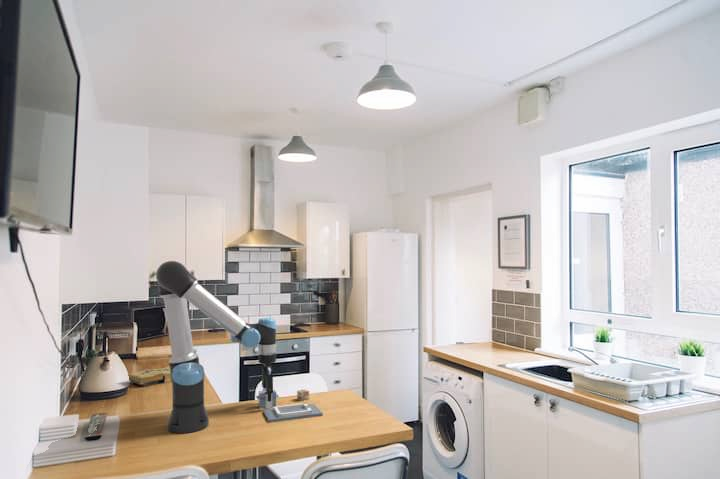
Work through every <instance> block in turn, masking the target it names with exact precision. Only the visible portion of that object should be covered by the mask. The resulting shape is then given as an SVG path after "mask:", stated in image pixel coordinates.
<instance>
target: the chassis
mask: <svg viewBox="0 0 720 479" xmlns="http://www.w3.org/2000/svg"><path fill="white" fill-rule="evenodd" d="M262 413H263V414H264V416H265V418H266V420H267V421H268V423H275V422H281V421H291V420H299V419H306V418H307V419H308V418H313V417H314V418H315V417H321V416H323V415H324V414H323V411H321V410H320V409H319V408H318V407H317V406H316V404H315V403H311V404H307V403H306V402H302V403H293V404H286V405H276V406H275V407H273V408H270V409H266V408H265V409H263V412H262Z"/></svg>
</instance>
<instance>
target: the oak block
mask: <svg viewBox="0 0 720 479" xmlns="http://www.w3.org/2000/svg"><path fill="white" fill-rule="evenodd" d="M296 395H297V396H296V397H297V400H298V401H300V402H305V401H304V400H306V401H310V391H309V390H307V389H300V390H299V389H298V390H296Z"/></svg>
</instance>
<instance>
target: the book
mask: <svg viewBox="0 0 720 479" xmlns="http://www.w3.org/2000/svg"><path fill="white" fill-rule="evenodd" d="M170 375H171V373H170V366H166V367H162V368H153V369H150V368H148V369H144V370H141V371H138V372H137V371H135V372H130V373H128V374H127V377H128V376H129V380H128V381H130V382H132V383H133V382H134V384H136V385H138V386H139V387H140V386H141V387H148V386H154V385H158V384H162V385H163V384H169V383H172V381H171V377H170Z"/></svg>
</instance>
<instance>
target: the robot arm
mask: <svg viewBox="0 0 720 479" xmlns="http://www.w3.org/2000/svg"><path fill="white" fill-rule="evenodd" d="M190 272H191V271H189V270H188V269H187V268H186V266H185V265H184V264H182V263H181V262H178V261H176V260H169V261H165V262H163V263H162V264H160V265H159V266H158V268H157V269H156V273H155V277H156V283H157V290H158V295H159V297H160V298H161V299H163V302H164V303H163V304H164V309H165V316H166V324H167V329H168V330H167V332H168V338H169V344H170V350H171V351H170V352H171V358H170V359H169V360H168V365H169V366H170V373H171V375H170V377H171V381H172V382H171V385H172V407H171V408H172V409H171V412H170V414H169V418H168V421H167V431H168V432H170V433H175V434H187V433H194V432H197V431H201V430H203V429H206V428H207V427H208V426H209V425H210V424H209V422H210V421H209V416H208V412H207V409H206V405H205V370H204V369H205V368H204V366H203V365H202V364H201V363H200V359H199V358H200V357H199V354H197V353H195V350H194V344H193V337H192V330H191V325H190V324H191V323H190V316H189V308H188V302H189V303H190V304H192V305H193V306H194V307H195V308H197V309H198V310H199V311H200V312H202V313H203V314H204V315H206V316H207V317H208V318H209V319H211V320H212V321H213V322H214V323H215V324H217V325H218V326H219V327H220V328H222V329H224V331H226V332H227V333H228V334H230V342H232V343H241V344H242V345H243V346H244V347H246V348H251V349H252V348H255V347H256V346H258V348H257V349H258V350H257V351H258V352H257V353H259V354H258V364H261V367H262V368H261V369H262V370H261V371H262V372H261V386H262V391H266V392H265V394H266V408H265V410H266V409H273V407H272V393H273V389H274V377H273V376H274V374H273V373H274V370H273V366H272V364H275V363H276V362H277V354H276V352H277V349H276V348H277V347H278V345H277V342H276V340H277V338H276V337H277V335H276V334H277V333H276V332H277V327H276V325H277V324H276V319H275V318H274V317H273V318H272V317H263V318H259V319H258V321H257V323H248V322H247V321H246V320H244V319H243V318H242V317H240V316H239V315H238V314H237V313H236V312H234V311H233V310H232V309H230V308H229V307H228V306H227V305H226V304H224V303H223V302H222V301H221V300H219V299H218V298H217V297H216V296H214V294H212V293H211V292H210V291H208V290H207V289H206V288H205V287H203V286H202V285H200V284H199V282H198V279H197V278H196V277H195V276H194V275H193V274H192V273H190ZM169 366H168V367H169Z"/></svg>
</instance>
